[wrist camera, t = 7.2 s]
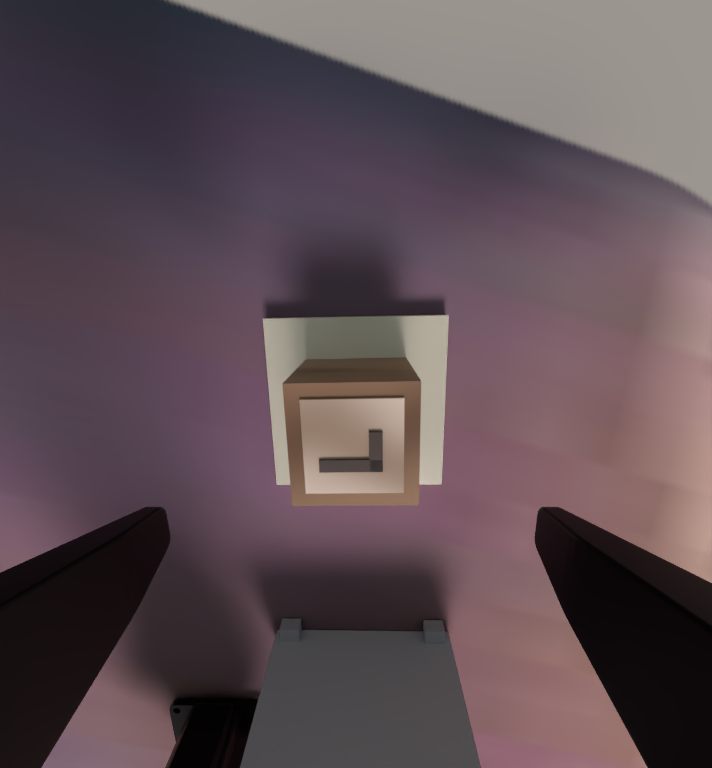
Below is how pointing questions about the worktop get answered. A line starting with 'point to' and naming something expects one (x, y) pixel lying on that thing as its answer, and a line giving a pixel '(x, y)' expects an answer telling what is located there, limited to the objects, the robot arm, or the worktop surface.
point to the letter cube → (353, 432)
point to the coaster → (362, 340)
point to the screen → (361, 701)
